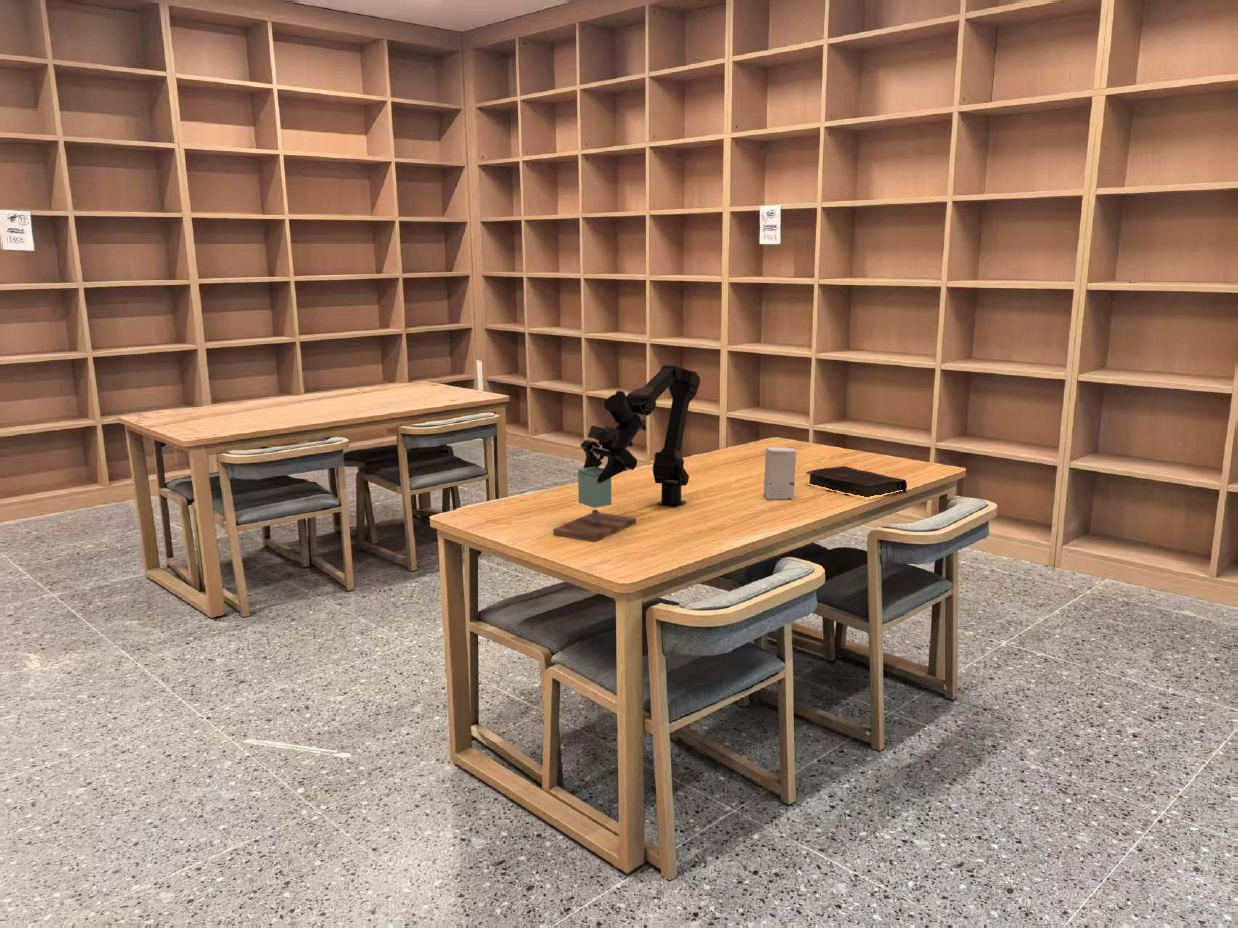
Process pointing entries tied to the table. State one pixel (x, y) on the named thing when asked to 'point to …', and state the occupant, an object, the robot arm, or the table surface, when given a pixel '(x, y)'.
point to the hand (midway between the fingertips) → (590, 479)
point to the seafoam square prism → (593, 488)
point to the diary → (856, 481)
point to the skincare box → (779, 473)
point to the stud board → (594, 526)
